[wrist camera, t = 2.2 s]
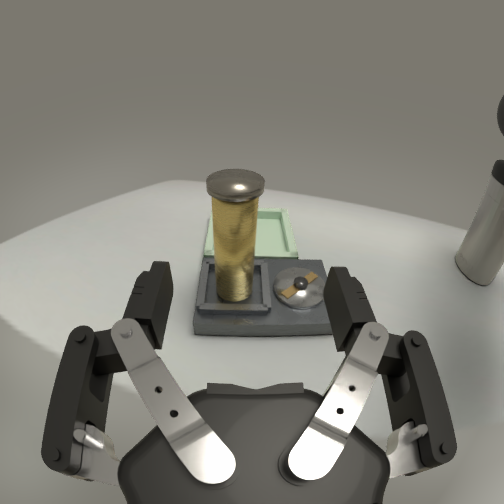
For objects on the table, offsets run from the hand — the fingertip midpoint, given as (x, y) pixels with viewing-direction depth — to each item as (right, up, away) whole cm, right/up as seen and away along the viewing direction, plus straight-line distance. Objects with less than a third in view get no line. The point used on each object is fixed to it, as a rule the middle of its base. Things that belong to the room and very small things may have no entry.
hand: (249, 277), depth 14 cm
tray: (0, +3, +27) cm, 27 cm away
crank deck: (+2, -4, +18) cm, 19 cm away
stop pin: (-2, -3, +17) cm, 17 cm away
